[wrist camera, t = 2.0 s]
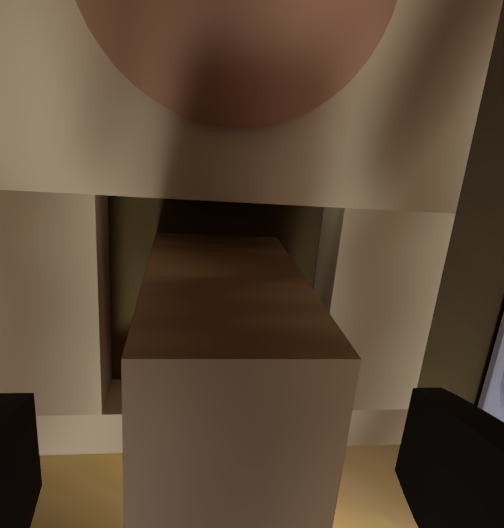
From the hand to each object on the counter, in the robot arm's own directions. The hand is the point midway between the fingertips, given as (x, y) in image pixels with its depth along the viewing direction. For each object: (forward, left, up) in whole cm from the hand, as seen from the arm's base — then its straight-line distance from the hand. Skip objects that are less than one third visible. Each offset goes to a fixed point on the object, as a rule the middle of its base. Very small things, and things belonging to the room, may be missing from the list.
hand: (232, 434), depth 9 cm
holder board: (0, -4, -7) cm, 9 cm away
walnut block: (0, 0, -7) cm, 7 cm away
